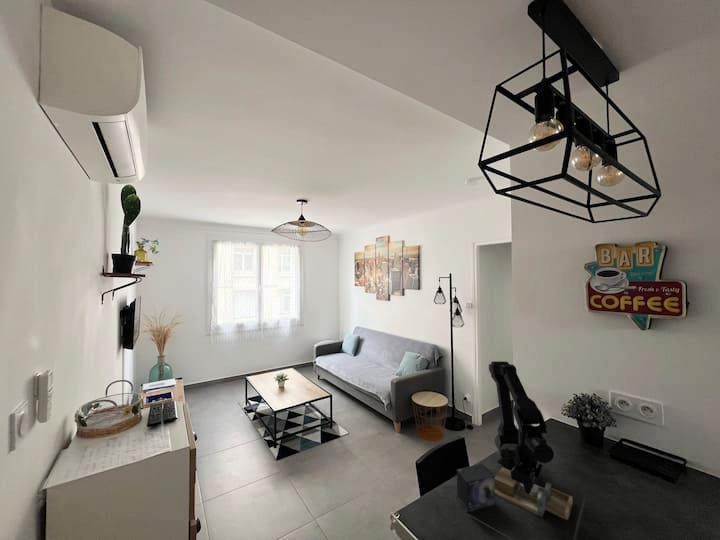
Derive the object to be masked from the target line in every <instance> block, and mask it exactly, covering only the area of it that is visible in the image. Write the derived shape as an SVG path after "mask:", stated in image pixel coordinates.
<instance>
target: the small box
mask: <svg viewBox="0 0 720 540" xmlns="http://www.w3.org/2000/svg"><path fill="white" fill-rule="evenodd" d="M495 477H496V475H495V474H493V472H492V471H491V470H489V468H488V467H487V466H485V464H483V463H480V464H475V465H469V466H465V467H462V468H461V467H460V468H457V469H456V499H457V501H458V502H459V503H460V504H461V506H462V507H463V509H465V511H466V514H469V513H470V512H475V511H477V510H478V511H479V510H482V509H486V508H489V507H492V506H495V505H496V500H495V498H496V495H495V480H494V478H495Z"/></svg>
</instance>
